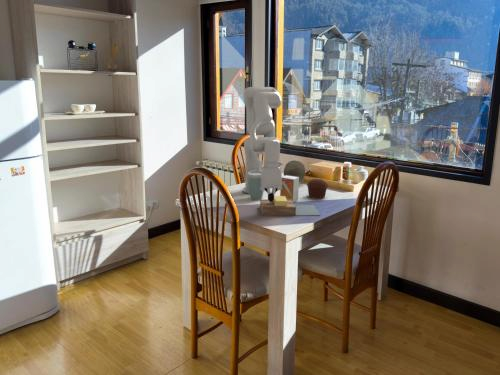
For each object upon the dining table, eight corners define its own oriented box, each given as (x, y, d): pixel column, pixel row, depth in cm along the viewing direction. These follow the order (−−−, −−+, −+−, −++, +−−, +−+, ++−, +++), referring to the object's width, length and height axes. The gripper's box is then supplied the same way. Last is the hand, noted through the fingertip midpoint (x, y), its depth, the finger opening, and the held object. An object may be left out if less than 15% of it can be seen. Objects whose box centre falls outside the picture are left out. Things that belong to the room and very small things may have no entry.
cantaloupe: (278, 183, 264) (279, 159, 261) (296, 180, 271) (297, 158, 267) (290, 188, 252) (291, 163, 249) (309, 185, 259) (310, 161, 255)
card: (273, 200, 210) (273, 196, 210) (284, 200, 211) (285, 196, 210) (275, 206, 202) (275, 201, 201) (287, 205, 202) (287, 201, 201)
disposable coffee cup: (263, 201, 223) (264, 174, 219) (244, 200, 225) (244, 173, 221) (266, 196, 233) (267, 170, 229) (248, 195, 235) (248, 169, 231)
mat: (290, 206, 216) (290, 205, 215) (313, 205, 216) (313, 205, 216) (296, 215, 200) (296, 215, 200) (320, 215, 201) (320, 214, 201)
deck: (260, 207, 213) (260, 199, 213) (290, 206, 215) (291, 199, 214) (262, 215, 200) (262, 207, 199) (295, 215, 201) (295, 207, 200)
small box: (279, 200, 226) (280, 177, 223) (285, 197, 231) (286, 175, 228) (292, 202, 222) (293, 179, 218) (298, 200, 227) (299, 176, 223)
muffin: (303, 197, 232) (304, 180, 230) (310, 193, 242) (311, 176, 239) (323, 200, 227) (325, 182, 224) (330, 195, 236) (331, 178, 234)
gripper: (285, 163, 205) (284, 199, 210) (255, 163, 204) (255, 199, 209) (288, 166, 198) (286, 203, 202) (256, 166, 197) (256, 203, 202)
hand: (270, 201), depth 206 cm, fingers closed
